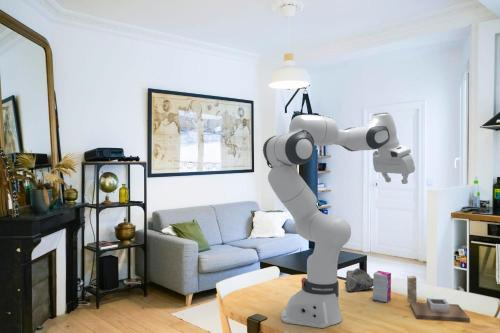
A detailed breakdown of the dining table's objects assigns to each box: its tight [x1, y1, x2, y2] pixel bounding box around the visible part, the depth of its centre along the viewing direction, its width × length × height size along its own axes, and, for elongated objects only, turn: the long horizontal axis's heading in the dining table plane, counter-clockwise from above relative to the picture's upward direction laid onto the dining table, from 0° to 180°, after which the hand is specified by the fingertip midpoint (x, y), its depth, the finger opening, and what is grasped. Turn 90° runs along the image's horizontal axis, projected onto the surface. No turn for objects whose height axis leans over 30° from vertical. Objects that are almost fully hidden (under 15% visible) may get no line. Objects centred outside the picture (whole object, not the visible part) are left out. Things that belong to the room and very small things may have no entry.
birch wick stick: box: [406, 275, 418, 303], centre depth 170 cm, size 3×3×10 cm
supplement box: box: [372, 270, 392, 304], centre depth 171 cm, size 6×6×12 cm
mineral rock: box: [345, 267, 373, 292], centre depth 185 cm, size 13×11×10 cm
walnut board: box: [409, 301, 471, 323], centre depth 156 cm, size 18×14×2 cm
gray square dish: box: [426, 297, 450, 313], centre depth 156 cm, size 7×7×3 cm
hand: (396, 182), depth 171 cm, fingers open, 8 cm apart
